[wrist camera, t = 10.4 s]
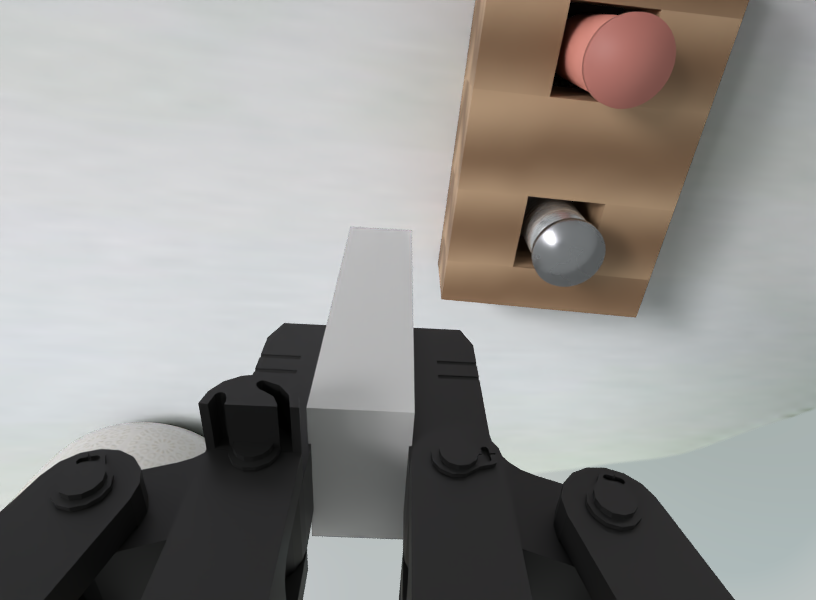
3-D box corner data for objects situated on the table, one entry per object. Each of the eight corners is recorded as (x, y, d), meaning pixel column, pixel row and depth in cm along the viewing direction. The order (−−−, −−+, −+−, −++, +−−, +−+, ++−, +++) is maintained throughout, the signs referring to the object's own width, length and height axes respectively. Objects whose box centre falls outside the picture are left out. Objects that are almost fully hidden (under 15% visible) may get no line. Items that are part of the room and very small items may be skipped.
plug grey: (516, 174, 40) (541, 217, 32) (574, 180, 40) (614, 224, 32) (505, 230, 42) (526, 283, 34) (560, 235, 42) (594, 289, 34)
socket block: (484, -66, 33) (498, -79, 27) (709, -39, 33) (765, -46, 28) (438, 263, 43) (441, 299, 38) (609, 279, 44) (636, 317, 39)
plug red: (554, 5, 33) (598, 6, 25) (624, 13, 33) (689, 17, 26) (539, 81, 35) (575, 104, 28) (604, 88, 36) (659, 113, 28)
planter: (259, 553, 61) (201, 760, 44) (68, 518, 58) (-70, 724, 42) (288, 416, 51) (228, 616, 35) (60, 368, 49) (-124, 559, 32)
